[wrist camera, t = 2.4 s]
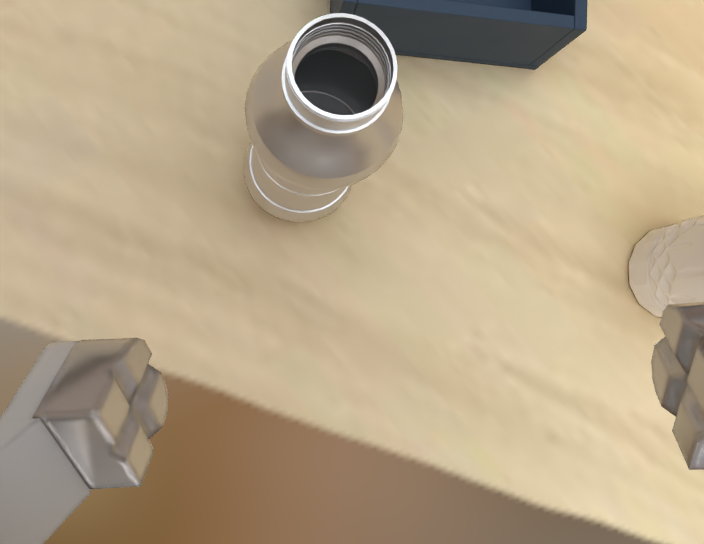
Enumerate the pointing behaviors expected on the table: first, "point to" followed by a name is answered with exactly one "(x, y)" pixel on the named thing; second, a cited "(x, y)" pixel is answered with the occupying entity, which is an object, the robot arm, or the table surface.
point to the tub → (474, 28)
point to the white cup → (669, 266)
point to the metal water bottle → (321, 117)
